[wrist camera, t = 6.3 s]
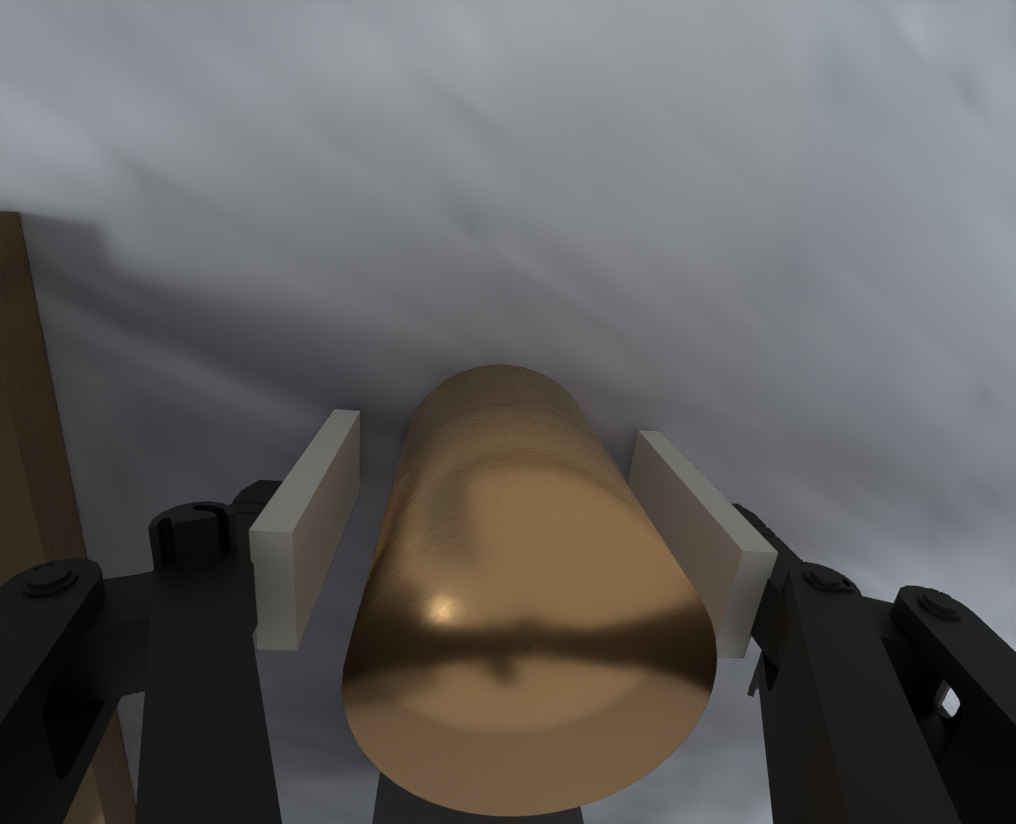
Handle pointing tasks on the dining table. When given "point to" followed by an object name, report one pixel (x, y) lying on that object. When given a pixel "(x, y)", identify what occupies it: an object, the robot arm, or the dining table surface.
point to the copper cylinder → (520, 611)
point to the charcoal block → (448, 811)
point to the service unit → (43, 495)
